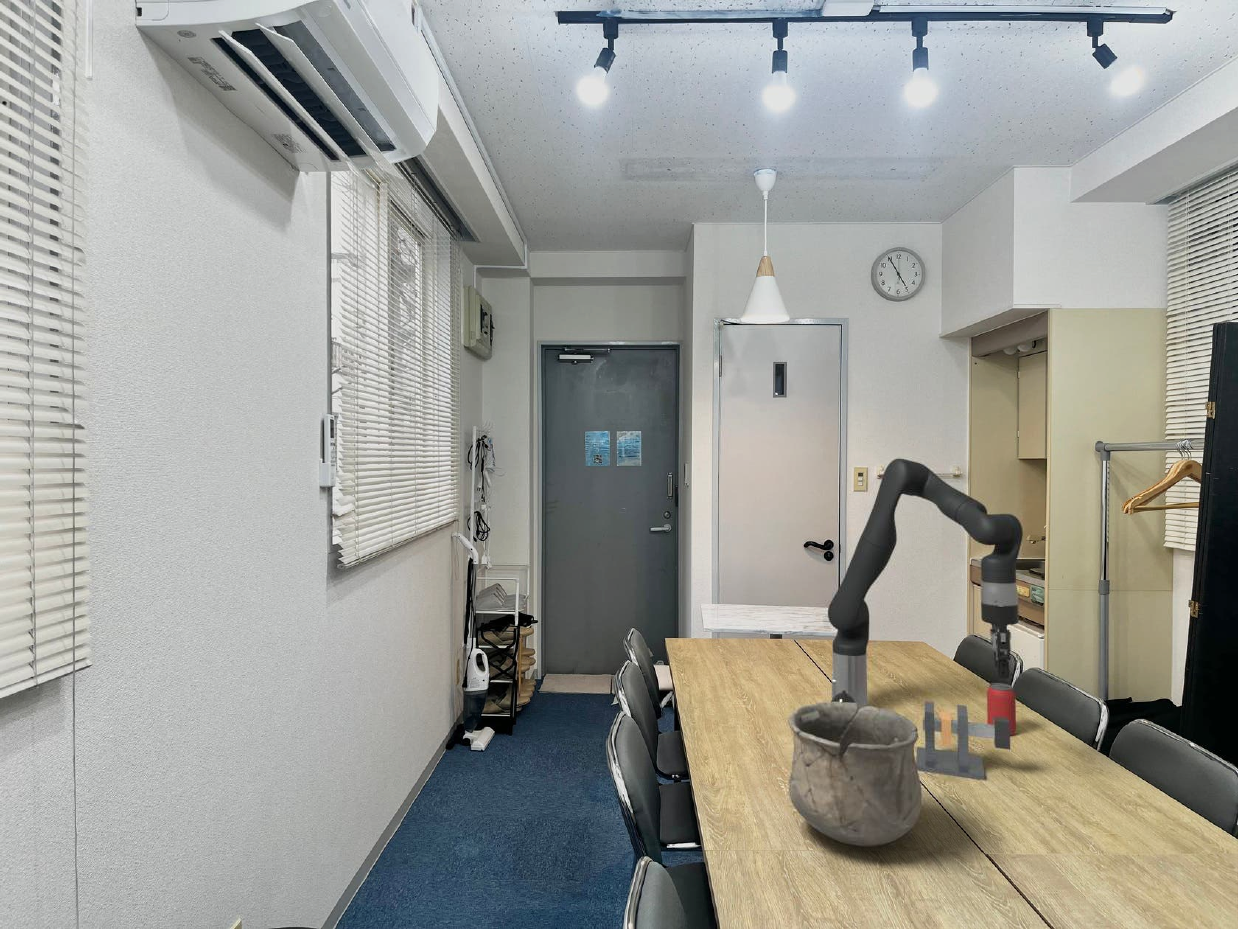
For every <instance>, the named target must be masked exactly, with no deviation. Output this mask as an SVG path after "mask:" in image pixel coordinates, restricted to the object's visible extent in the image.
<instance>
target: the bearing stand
mask: <svg viewBox="0 0 1238 929" xmlns="http://www.w3.org/2000/svg"><path fill="white" fill-rule="evenodd" d="M956 706H957V707H956V710H957V712H956V717H957V719H956V720H958V734H957V751H951V750H946V749H945V750H944V749H936V746H935V745H936V742H935V741H936V739H935V738H936V737H935V736H936V735H935V732H936V731H934V718H935V701H926V700H925V701H924V716H925V730H924V747H923V746H922V747H921V746H916V758H915V761H916V766H917V771H921V772H926V771H927V773H934V774H940V775H947V776H954V777H961V778H967V779H972V780H973V779H974V780H981V781H985V771H984V765H983V759H982V755H980V754H972V753H970V752H969V749H970V748H969V736H968V722H969V714H968V706H967V705H962V704H957V705H956Z"/></svg>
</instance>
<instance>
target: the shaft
mask: <svg viewBox="0 0 1238 929" xmlns="http://www.w3.org/2000/svg"><path fill="white" fill-rule="evenodd" d="M922 730H923V731H925V715H923V716H922ZM934 731H935V732H938V733H941V732H942V730H941V718H940V717H934ZM951 735H958V720H957V719H956V720H955V719H951ZM968 737H974V738H975V737H977V738H985V739H991V740H993V745H994V748H996V749H1002V750H1011V735H1010V722H1009V718H1002V717H994V725H990V724H987V723H981V722H973V721H968Z"/></svg>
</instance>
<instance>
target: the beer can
mask: <svg viewBox="0 0 1238 929" xmlns="http://www.w3.org/2000/svg"><path fill="white" fill-rule="evenodd" d="M1016 700H1017V699H1016V693H1015V691H1014V687H1013V686H1012V685H1010V684H1006V683H1001V682H992V683H989V684H988V688H987V691H986V713H987V714H986V715H987V723H986V724H990V725H994V717H1002V718H1009V722H1010V736H1013V735H1015V734H1016V733H1017V717H1016V716H1017V704H1016V703H1017V702H1016Z"/></svg>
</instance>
